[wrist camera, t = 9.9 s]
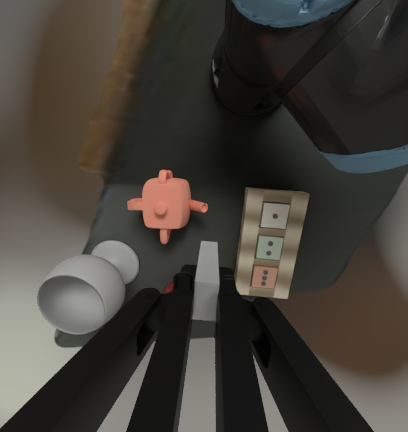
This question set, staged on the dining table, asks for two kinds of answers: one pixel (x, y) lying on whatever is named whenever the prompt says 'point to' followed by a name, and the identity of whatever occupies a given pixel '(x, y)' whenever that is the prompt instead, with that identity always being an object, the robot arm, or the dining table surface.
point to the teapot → (166, 204)
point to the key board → (252, 229)
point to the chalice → (88, 288)
